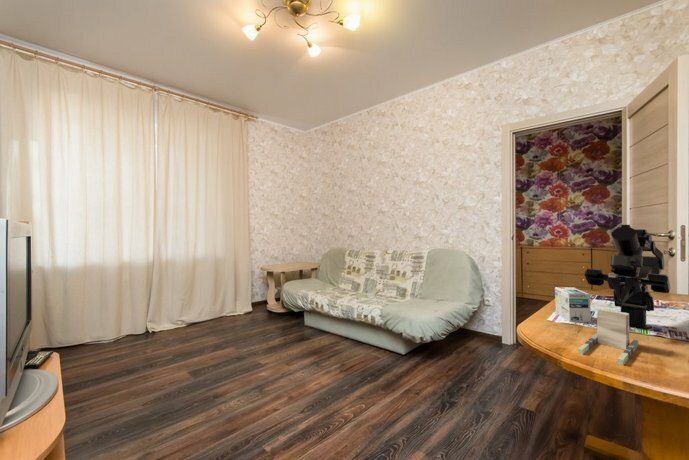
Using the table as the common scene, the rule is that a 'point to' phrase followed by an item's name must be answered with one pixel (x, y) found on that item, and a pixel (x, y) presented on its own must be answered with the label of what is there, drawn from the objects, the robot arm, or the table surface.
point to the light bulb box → (572, 304)
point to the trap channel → (623, 356)
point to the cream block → (613, 328)
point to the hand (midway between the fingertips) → (620, 303)
